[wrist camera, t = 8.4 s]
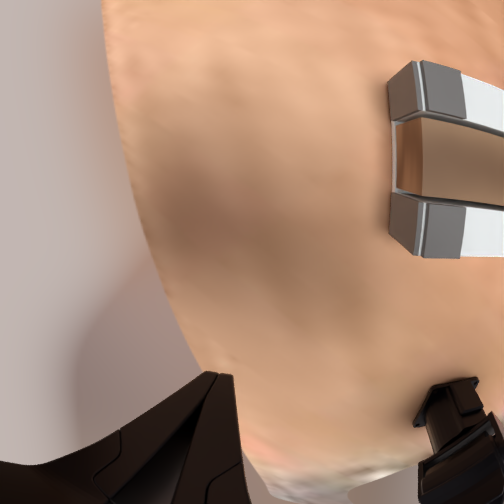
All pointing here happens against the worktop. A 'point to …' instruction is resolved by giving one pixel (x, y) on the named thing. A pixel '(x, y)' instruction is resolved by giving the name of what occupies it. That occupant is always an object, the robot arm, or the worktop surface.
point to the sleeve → (434, 208)
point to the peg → (450, 161)
